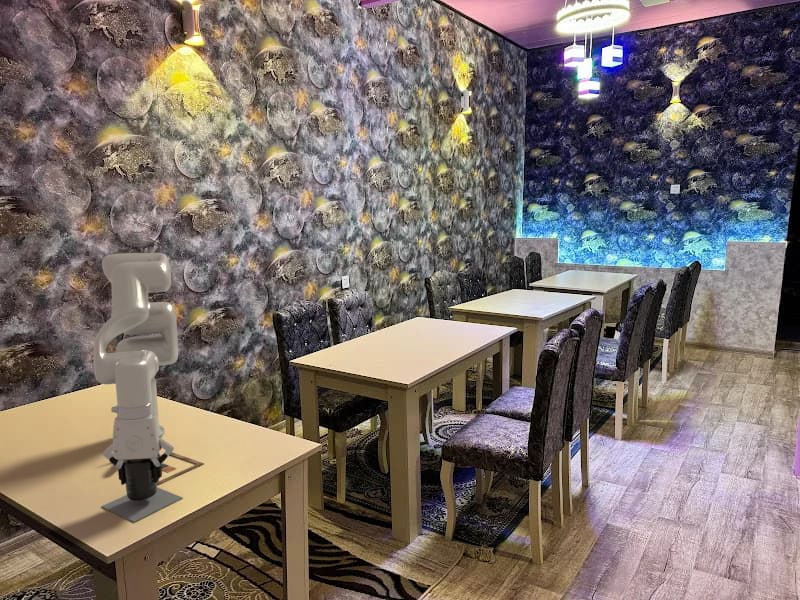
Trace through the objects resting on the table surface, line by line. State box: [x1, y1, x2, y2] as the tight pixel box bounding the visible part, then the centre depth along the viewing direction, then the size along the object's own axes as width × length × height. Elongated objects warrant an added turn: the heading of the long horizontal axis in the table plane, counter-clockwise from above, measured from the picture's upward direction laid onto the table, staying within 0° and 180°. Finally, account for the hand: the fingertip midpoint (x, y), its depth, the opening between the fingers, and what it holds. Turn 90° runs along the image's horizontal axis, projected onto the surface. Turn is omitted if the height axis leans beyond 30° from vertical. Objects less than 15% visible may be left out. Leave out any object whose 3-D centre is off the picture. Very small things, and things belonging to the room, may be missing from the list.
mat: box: [101, 486, 184, 524], centre depth 141 cm, size 13×13×1 cm
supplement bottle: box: [124, 459, 158, 501], centre depth 139 cm, size 7×7×12 cm
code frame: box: [157, 451, 205, 486], centre depth 159 cm, size 14×14×1 cm
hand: (141, 480), depth 140 cm, fingers closed on supplement bottle, 6 cm apart
